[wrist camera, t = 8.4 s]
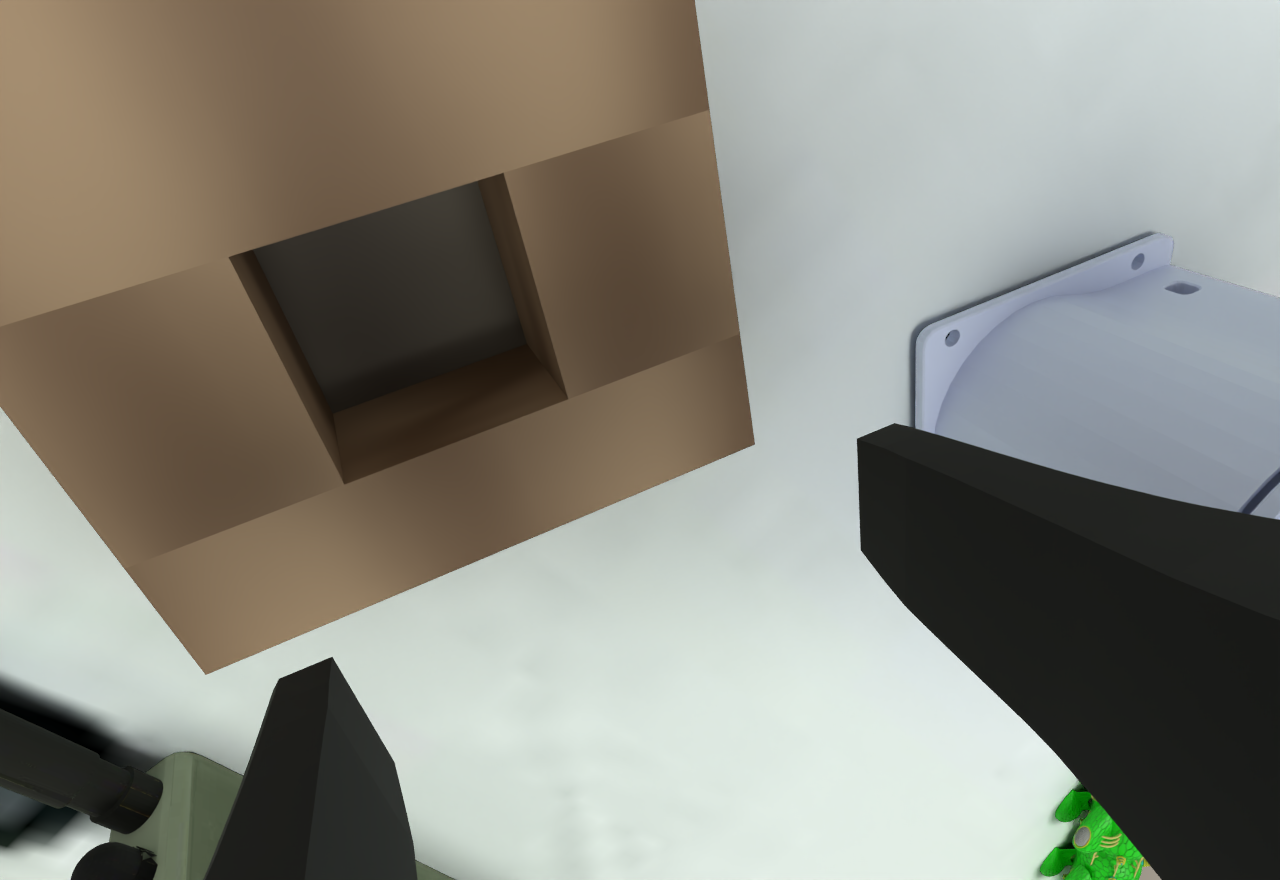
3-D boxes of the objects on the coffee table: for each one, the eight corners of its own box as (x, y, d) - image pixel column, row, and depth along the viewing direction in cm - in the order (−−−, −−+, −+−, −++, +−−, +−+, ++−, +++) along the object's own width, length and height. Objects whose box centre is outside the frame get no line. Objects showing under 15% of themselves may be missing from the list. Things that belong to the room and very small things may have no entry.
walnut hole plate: (425, -1040, 9) (493, -1478, 7) (687, 382, 20) (754, 444, 18) (-927, -1120, 7) (-1779, -1915, 4) (215, 566, 18) (205, 674, 15)
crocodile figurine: (1017, 921, 50) (1073, 990, 46) (1065, 741, 40) (1140, 811, 37) (1096, 874, 51) (1156, 937, 48) (1161, 691, 42) (1241, 754, 38)
